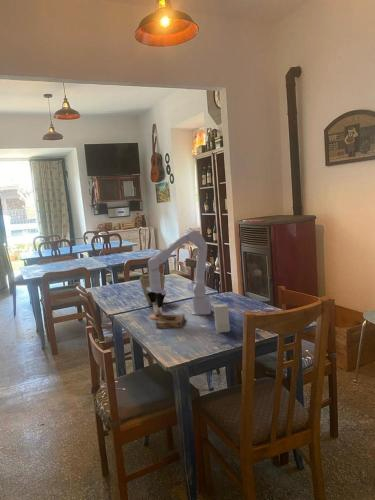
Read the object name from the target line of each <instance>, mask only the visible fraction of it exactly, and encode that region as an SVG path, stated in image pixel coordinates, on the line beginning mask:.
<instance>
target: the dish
mask: <svg viewBox="0 0 375 500" xmlns="http://www.w3.org/2000/svg"><path fill="white" fill-rule="evenodd" d="M162 313H163V314H162V315H167V314H166V313H165V312H162ZM160 316H161V315H159V316H154V313H152V314H150V315H149V319H150V320H157V321H158V319H159V318H160Z"/></svg>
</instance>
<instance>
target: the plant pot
mask: <svg viewBox="0 0 375 500" xmlns="http://www.w3.org/2000/svg"><path fill="white" fill-rule="evenodd" d="M165 280H166V277H165V274H161V273H160V282H161V289H163V290H164V289H165V284H166V283H165V282H166V281H165ZM139 281H140V285H141V287H142V288H141V289H142V291H143V294H144V297H145V299H146V301H147V303H148V305H152V304H151V301H150V299H149V297H148V295H147V293H149V291H146V288H147V287H150V282H149V274H145V275H142V276H140V277H139ZM157 294H158V293H157ZM157 294H156V295H157ZM156 301H157V299H156Z"/></svg>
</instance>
